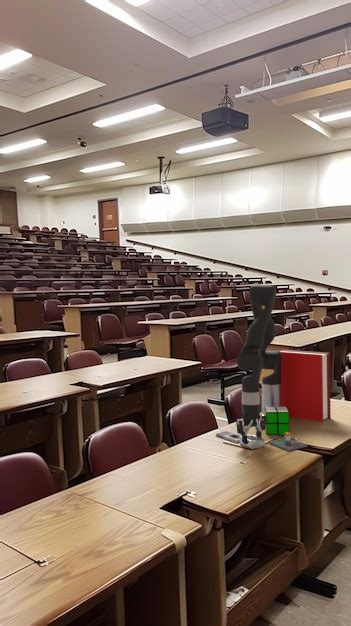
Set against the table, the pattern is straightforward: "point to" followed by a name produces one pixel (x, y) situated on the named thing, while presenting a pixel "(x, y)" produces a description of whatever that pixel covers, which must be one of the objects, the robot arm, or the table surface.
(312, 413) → the book
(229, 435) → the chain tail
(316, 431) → the table surface
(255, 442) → the link
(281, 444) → the keeper
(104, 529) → the table surface
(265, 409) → the puzzle cube
